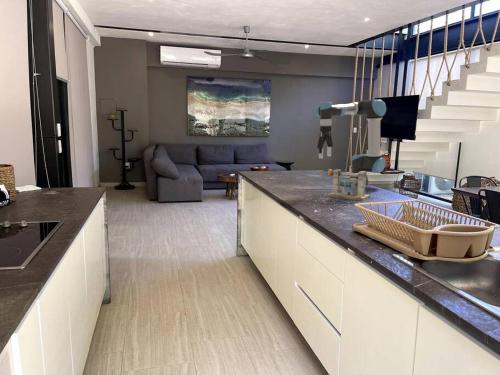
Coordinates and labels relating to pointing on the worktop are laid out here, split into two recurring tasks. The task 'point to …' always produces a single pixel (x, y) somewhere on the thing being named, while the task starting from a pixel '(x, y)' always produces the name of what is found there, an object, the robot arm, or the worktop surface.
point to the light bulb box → (348, 186)
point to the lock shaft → (342, 173)
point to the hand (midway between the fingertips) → (325, 157)
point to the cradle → (360, 196)
